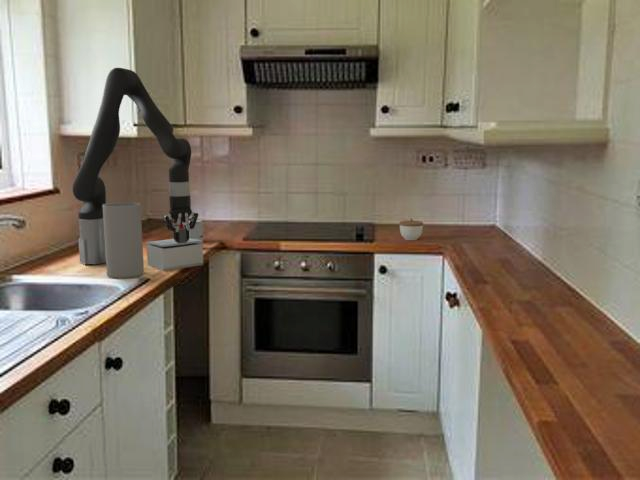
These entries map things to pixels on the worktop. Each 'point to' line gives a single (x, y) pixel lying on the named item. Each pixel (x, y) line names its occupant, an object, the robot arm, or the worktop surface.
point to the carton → (175, 256)
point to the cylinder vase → (123, 239)
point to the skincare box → (197, 231)
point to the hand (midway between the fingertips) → (181, 241)
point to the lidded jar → (411, 229)
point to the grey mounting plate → (172, 242)
